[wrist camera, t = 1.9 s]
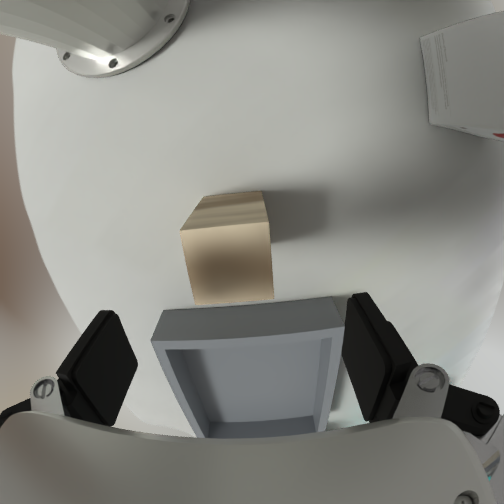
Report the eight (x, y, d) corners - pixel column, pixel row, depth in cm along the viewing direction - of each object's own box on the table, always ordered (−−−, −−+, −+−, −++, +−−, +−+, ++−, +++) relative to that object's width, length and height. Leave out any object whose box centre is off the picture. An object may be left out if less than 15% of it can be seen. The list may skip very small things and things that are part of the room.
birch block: (203, 196, 21) (179, 230, 14) (261, 190, 21) (268, 221, 13) (211, 249, 23) (195, 304, 15) (265, 244, 23) (274, 298, 15)
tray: (163, 310, 25) (150, 340, 21) (331, 296, 25) (345, 326, 21) (204, 420, 33) (202, 445, 29) (318, 412, 33) (323, 437, 29)
